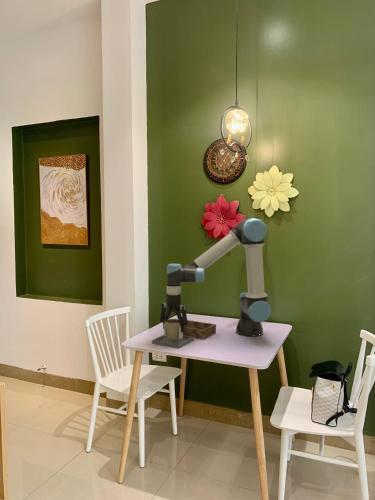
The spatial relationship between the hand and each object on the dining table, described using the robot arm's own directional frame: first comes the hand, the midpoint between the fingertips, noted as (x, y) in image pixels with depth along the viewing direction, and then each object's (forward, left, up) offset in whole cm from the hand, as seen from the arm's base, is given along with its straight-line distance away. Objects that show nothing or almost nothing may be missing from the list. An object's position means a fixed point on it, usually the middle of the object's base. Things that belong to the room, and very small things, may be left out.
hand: (173, 336), depth 202 cm
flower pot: (0, 0, -1) cm, 1 cm away
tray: (0, 0, -3) cm, 3 cm away
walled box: (0, -19, -3) cm, 19 cm away
